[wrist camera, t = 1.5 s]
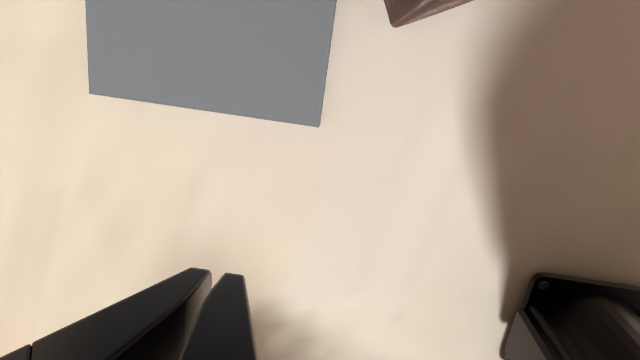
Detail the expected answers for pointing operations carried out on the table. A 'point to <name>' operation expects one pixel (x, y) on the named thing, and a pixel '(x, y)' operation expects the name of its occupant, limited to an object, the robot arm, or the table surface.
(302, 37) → the mat
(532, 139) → the table surface
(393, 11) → the box
